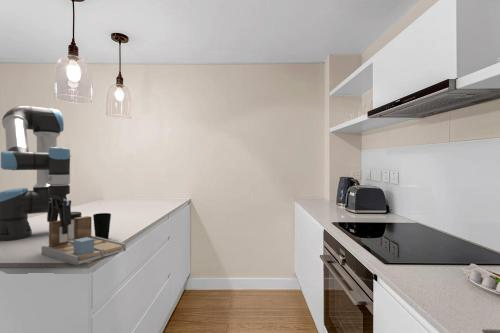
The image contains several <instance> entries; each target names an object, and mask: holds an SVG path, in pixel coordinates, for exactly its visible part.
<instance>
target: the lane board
mask: <svg viewBox="0 0 500 333" xmlns="http://www.w3.org/2000/svg"><path fill="white" fill-rule="evenodd" d="M91 238H93V239H98V240H102V241H104V243H102V244H97V245H94V250H96V251H100V255H97V256H93V257H90V258H86V259H83V260H78V256H76V255H73V254H69V253H66V252H63V251H60V250H56V249H53V248H50V247H47V246H46V245H41V250H40V251H41V255H43V254H44V256H47V257H49V258H53V259H56V260H59V261H62V262H65V263H68V264H71V265H73V266H77V265H81V264H84V263H87V262H91V261H95V260H98V259H101V258H105V257H107V256H112V255H116V254H119V253H122V252H125V251H127V250H126V249H127V247H126V246H127V243H125V242H121V241H116V240H112V239H110V238H108V239H104V238H100V237H96V236H95V235H91ZM68 243H70V244H74V240H71V239H69V240H68Z"/></svg>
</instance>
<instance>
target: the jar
mask: <svg viewBox="0 0 500 333" xmlns="http://www.w3.org/2000/svg"><path fill="white" fill-rule="evenodd" d="M78 217H82V212H81V211H71V224H70V225H68V241H69V240H74V218H78Z"/></svg>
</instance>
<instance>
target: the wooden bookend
mask: <svg viewBox="0 0 500 333" xmlns="http://www.w3.org/2000/svg"><path fill="white" fill-rule="evenodd" d="M92 217H93V216H89V215H85V216H81V217H78V218H74V239H73V241H74V240H76V239H80V238H85V237H88V238H91V236H92V224H93V223H92V220H93V219H92ZM92 239H93V238H92ZM102 243H104V241H102V240H98V239H94V245H97V244H102Z"/></svg>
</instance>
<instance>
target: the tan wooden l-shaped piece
mask: <svg viewBox="0 0 500 333" xmlns="http://www.w3.org/2000/svg"><path fill="white" fill-rule="evenodd" d="M60 225H61V223H60V219H59V220H58V219H57V221H52V222H48V246H46V247H50V248H53V249H56V250H60V251H63V252H66V253H69V254H73V255H76V256H78V260H83V259H86V258H90V257H93V256H97V255H100V251H96V250H94V252H92V253H88V254H84V255H78V254H75V253H74V244H70V243H68V241H69V240H68V231H67V241H66V242H62V243H60V242H59V235H60V227H59V226H60Z"/></svg>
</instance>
